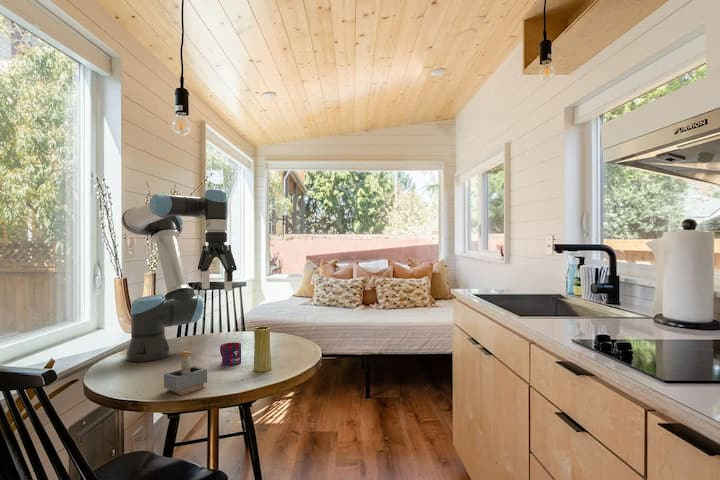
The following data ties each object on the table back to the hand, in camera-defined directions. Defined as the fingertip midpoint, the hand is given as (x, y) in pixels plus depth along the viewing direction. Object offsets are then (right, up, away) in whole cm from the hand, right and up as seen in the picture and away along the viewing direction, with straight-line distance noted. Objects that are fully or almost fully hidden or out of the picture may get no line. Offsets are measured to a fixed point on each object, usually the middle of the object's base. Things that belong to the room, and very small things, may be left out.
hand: (216, 289), depth 151 cm
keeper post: (0, -26, -27) cm, 38 cm away
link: (0, -25, -27) cm, 37 cm away
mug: (+5, -27, 0) cm, 27 cm away
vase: (+19, -27, -9) cm, 34 cm away
